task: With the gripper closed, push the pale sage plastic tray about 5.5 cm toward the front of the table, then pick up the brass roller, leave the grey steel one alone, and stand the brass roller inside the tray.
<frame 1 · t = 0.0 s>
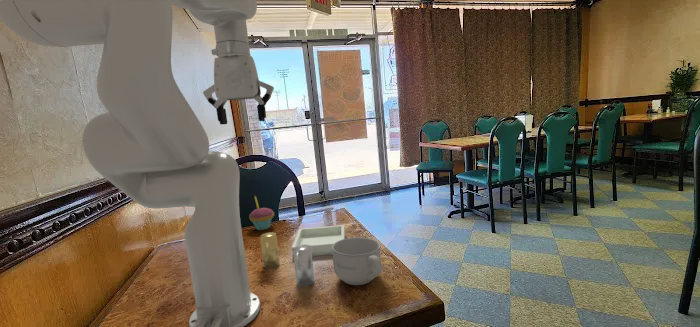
hand: (242, 122, 77), 37 cm above the table, tool pointing down, fingers open, 9 cm apart
tray: (320, 245, 88), on the table
brass roller: (271, 264, 78), on the table
steel roller: (305, 281, 68), on the table
teacup: (361, 282, 67), on the table
cupcake: (263, 228, 108), on the table
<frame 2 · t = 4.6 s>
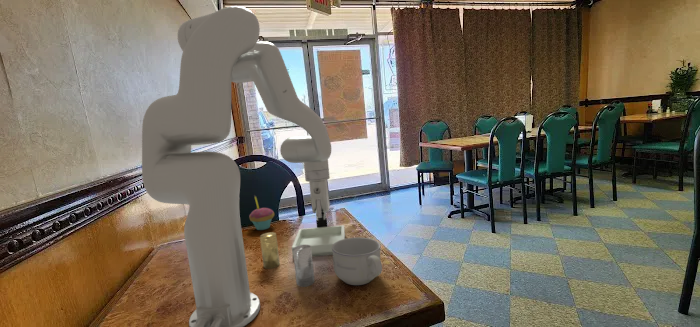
hand: (322, 231, 96), 1 cm above the table, tool pointing down, fingers closed
tray: (320, 245, 88), on the table, touching gripper
everything else where it was.
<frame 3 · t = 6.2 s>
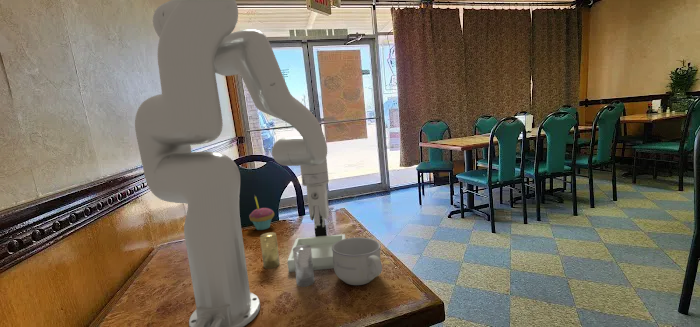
hand: (321, 239, 89), 1 cm above the table, tool pointing down, fingers closed
tray: (319, 256, 80), on the table, touching gripper
everything else where it was.
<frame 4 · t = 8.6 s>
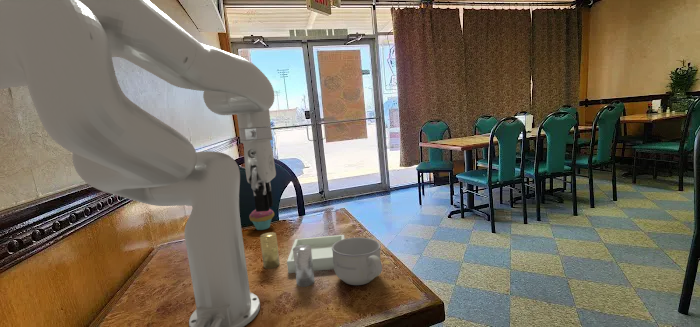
hand: (264, 208, 76), 15 cm above the table, tool pointing down, fingers closed
tray: (319, 257, 80), on the table
everything else where it was.
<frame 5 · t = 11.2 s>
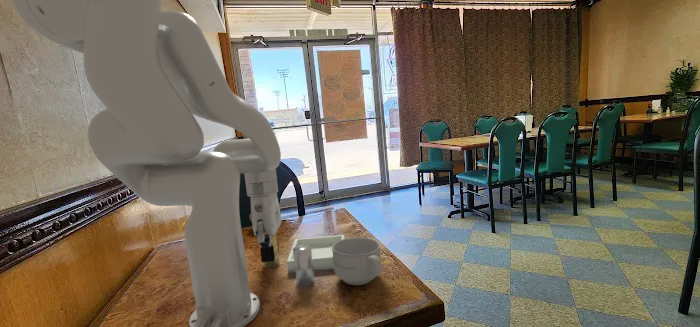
hand: (270, 256, 78), 2 cm above the table, tool pointing down, fingers closed on brass roller, 4 cm apart
brass roller: (271, 264, 78), on the table, touching gripper
everything else where it was.
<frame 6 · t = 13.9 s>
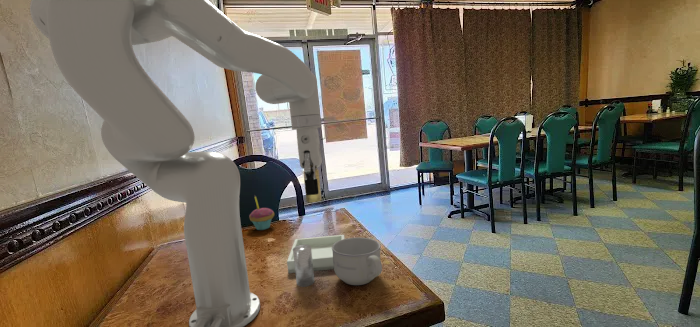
hand: (313, 191, 80), 17 cm above the table, tool pointing down, fingers closed on brass roller, 4 cm apart
brass roller: (313, 200, 80), point 15 cm above the table, touching gripper
everything else where it was.
when the fingers open (5 cm above the table, at t = 16.5 s): brass roller drops 1 cm, resting on tray.
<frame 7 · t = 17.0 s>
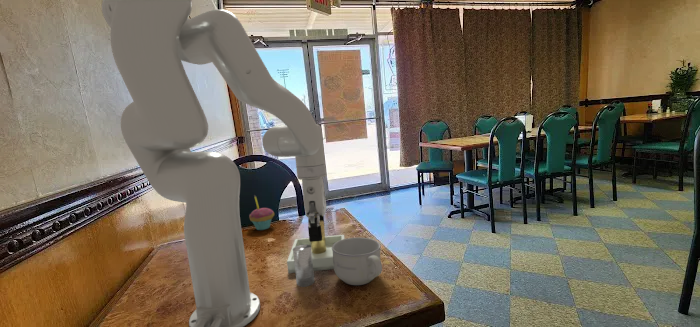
hand: (317, 233, 82), 6 cm above the table, tool pointing down, fingers open, 9 cm apart
tray: (319, 257, 80), on the table, touching brass roller
brass roller: (319, 250, 82), point 1 cm above the table, touching tray
everything else where it was.
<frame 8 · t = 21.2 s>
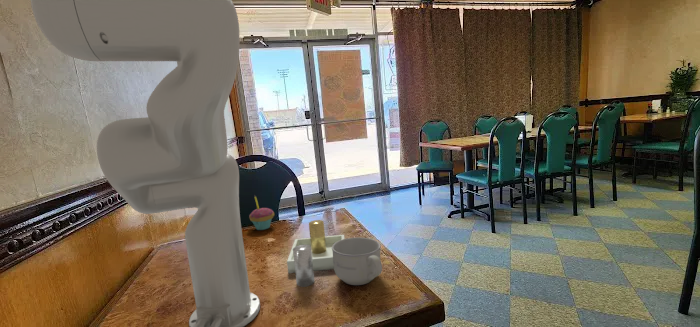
hand: (209, 160, 74), 28 cm above the table, tool pointing down, fingers open, 9 cm apart
nothing on the table moved.
at the end: brass roller inside the target area on the tray (2.6 cm from its centre), point 0.8 cm above the tray's base; brass roller tilted 0°; tray inside the target area (2.7 cm from its centre), on the table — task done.
